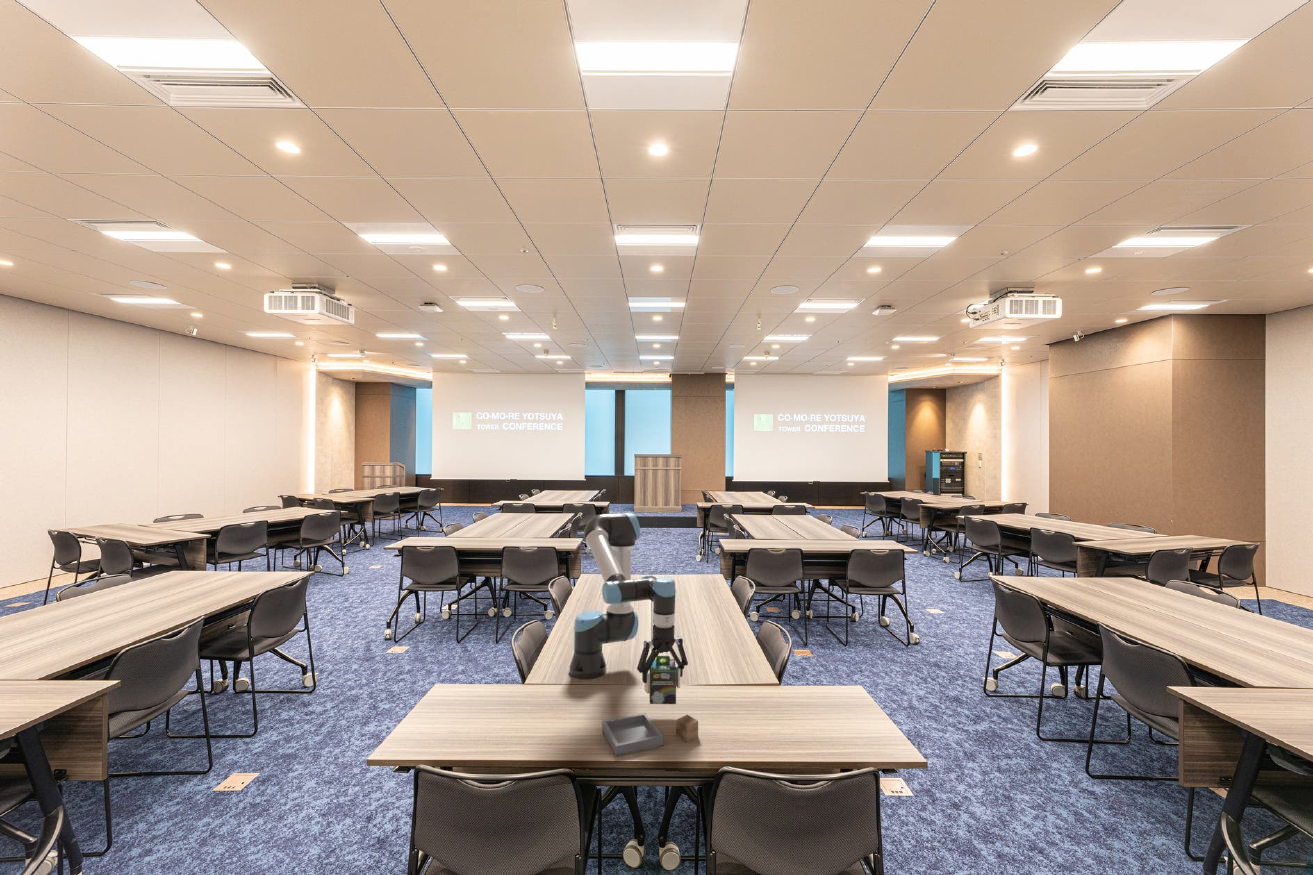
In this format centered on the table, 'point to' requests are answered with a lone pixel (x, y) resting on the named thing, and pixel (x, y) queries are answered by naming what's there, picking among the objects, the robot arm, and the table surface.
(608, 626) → the robot arm
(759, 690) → the table surface
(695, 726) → the walnut block
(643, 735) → the tray
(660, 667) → the chalk box
